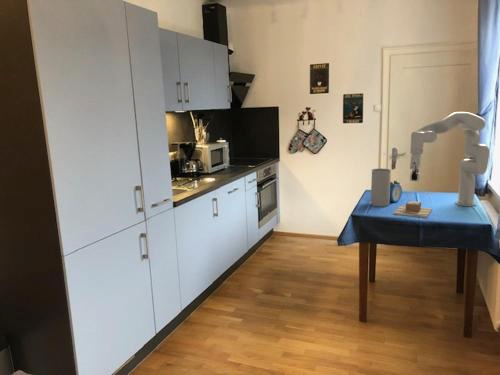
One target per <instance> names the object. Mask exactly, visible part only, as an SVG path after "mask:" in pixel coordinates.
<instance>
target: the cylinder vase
mask: <svg viewBox="0 0 500 375" xmlns="http://www.w3.org/2000/svg"><path fill="white" fill-rule="evenodd" d="M391 172H392V170H391V169H389V168H373V169H371V185H370V186H371V187H370V188H371V189H370V205H371V206H372V207H377V208H378V207H380V208H384V207H385V208H386V207H388V206H389V205H390V201H389V199H390V182H391V177H392V176H391V175H392V174H391Z"/></svg>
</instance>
